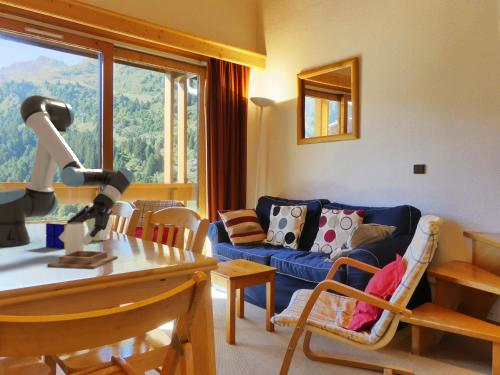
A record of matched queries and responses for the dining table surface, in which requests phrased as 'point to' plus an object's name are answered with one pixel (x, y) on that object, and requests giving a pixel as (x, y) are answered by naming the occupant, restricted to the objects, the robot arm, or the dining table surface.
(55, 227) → the puzzle cube
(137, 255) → the dining table surface
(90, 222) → the cup
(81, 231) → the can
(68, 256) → the holder
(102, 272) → the dining table surface
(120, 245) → the dining table surface
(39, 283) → the dining table surface
